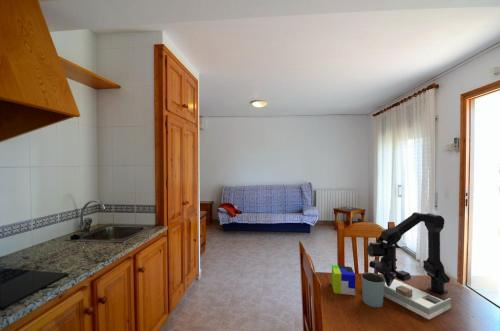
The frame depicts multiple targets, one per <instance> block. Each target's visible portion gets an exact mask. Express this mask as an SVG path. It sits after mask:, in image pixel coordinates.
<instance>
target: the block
mask: <svg viewBox="0 0 500 331" xmlns="http://www.w3.org/2000/svg"><path fill="white" fill-rule="evenodd" d="M396 292H397V293H399V294H401V295H403V296H405V297H407V298H410V297H412V290H411V289H409V288H407V287H405V286H403V285H401V286H398V287H396Z"/></svg>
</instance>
